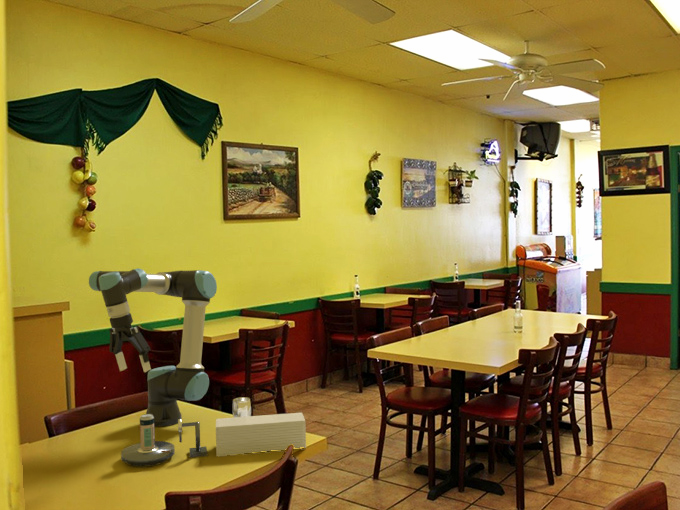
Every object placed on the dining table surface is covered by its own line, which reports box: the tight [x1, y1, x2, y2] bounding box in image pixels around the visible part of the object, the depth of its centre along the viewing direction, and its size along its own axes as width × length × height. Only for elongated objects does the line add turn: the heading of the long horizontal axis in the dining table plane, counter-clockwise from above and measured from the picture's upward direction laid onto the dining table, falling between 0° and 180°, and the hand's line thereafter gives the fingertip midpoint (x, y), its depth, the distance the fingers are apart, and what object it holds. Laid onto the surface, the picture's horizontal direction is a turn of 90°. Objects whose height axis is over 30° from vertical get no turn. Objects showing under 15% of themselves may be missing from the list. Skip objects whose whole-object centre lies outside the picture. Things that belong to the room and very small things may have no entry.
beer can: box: [139, 413, 156, 451], centre depth 223 cm, size 5×5×12 cm
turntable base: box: [127, 458, 169, 468], centre depth 223 cm, size 14×14×1 cm
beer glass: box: [232, 396, 252, 418], centre depth 244 cm, size 7×7×15 cm
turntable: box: [120, 440, 175, 465], centre depth 223 cm, size 18×18×2 cm
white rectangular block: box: [215, 412, 307, 457], centre depth 232 cm, size 32×11×11 cm, turn 100°
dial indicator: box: [177, 419, 208, 459], centre depth 226 cm, size 6×10×13 cm, turn 104°
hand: (135, 370), depth 230 cm, fingers open, 13 cm apart
